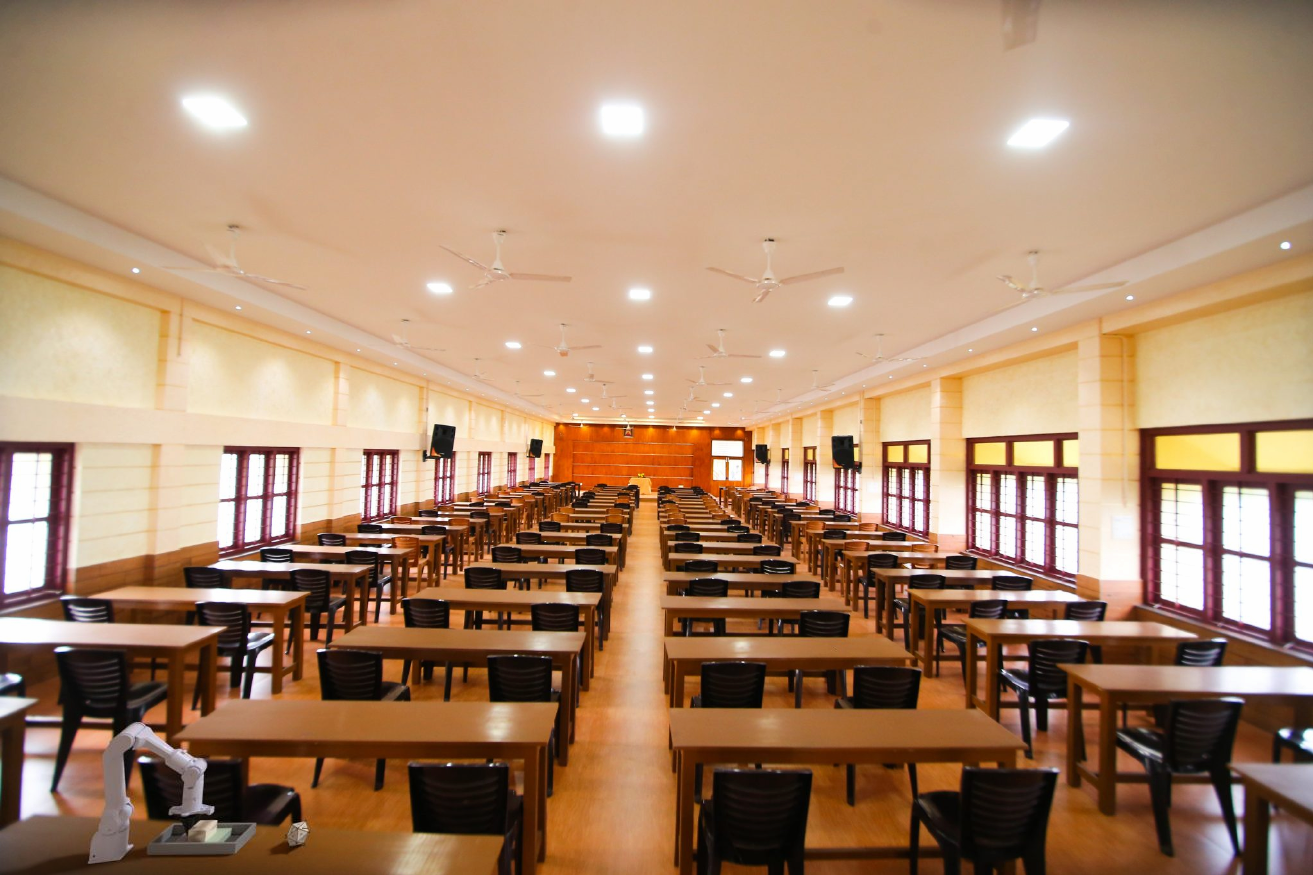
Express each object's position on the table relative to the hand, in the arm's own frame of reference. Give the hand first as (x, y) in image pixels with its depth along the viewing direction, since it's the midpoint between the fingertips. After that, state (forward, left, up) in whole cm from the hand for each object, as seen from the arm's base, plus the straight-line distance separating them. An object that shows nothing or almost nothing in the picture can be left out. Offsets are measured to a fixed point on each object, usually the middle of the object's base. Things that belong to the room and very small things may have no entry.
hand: (189, 833), depth 212 cm
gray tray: (+5, -1, -3) cm, 6 cm away
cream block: (+4, -1, -1) cm, 5 cm away
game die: (+38, -9, -4) cm, 39 cm away
